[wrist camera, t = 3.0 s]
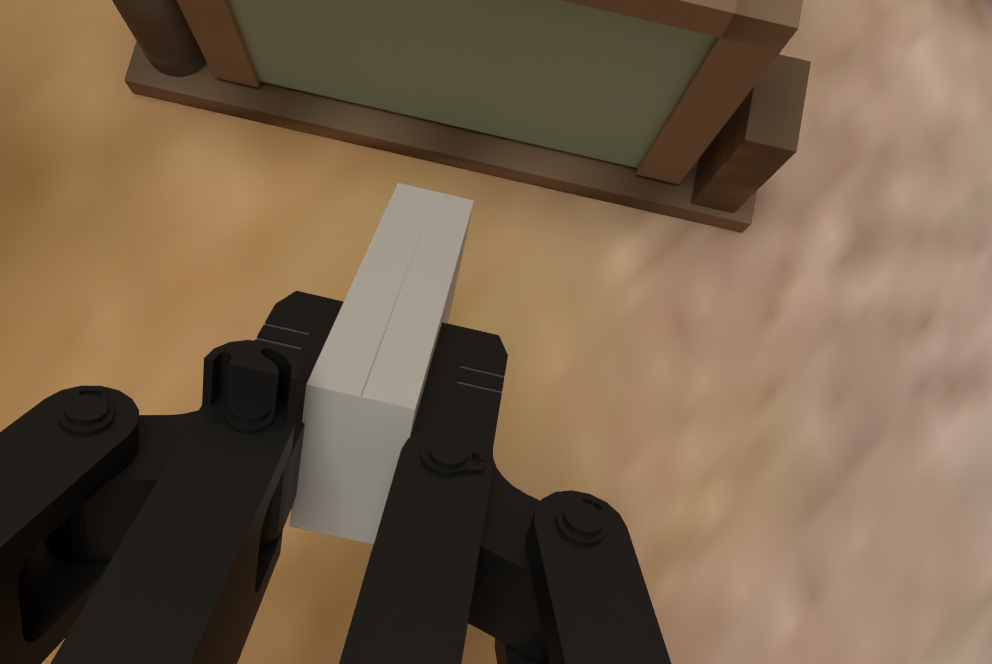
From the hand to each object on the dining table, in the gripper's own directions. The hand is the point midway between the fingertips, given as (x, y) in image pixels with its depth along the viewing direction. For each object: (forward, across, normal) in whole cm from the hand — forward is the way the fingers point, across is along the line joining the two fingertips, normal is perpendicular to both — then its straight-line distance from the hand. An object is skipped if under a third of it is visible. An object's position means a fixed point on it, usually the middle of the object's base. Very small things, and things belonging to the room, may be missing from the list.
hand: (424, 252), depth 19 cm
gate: (+16, -1, -3) cm, 17 cm away
